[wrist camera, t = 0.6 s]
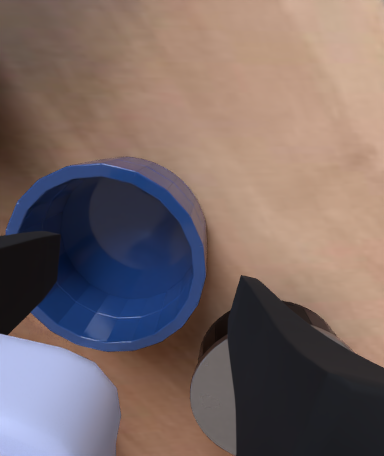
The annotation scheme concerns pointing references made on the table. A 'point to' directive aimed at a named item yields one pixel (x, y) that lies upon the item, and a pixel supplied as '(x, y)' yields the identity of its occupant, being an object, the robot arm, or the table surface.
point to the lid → (220, 393)
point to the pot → (118, 251)
